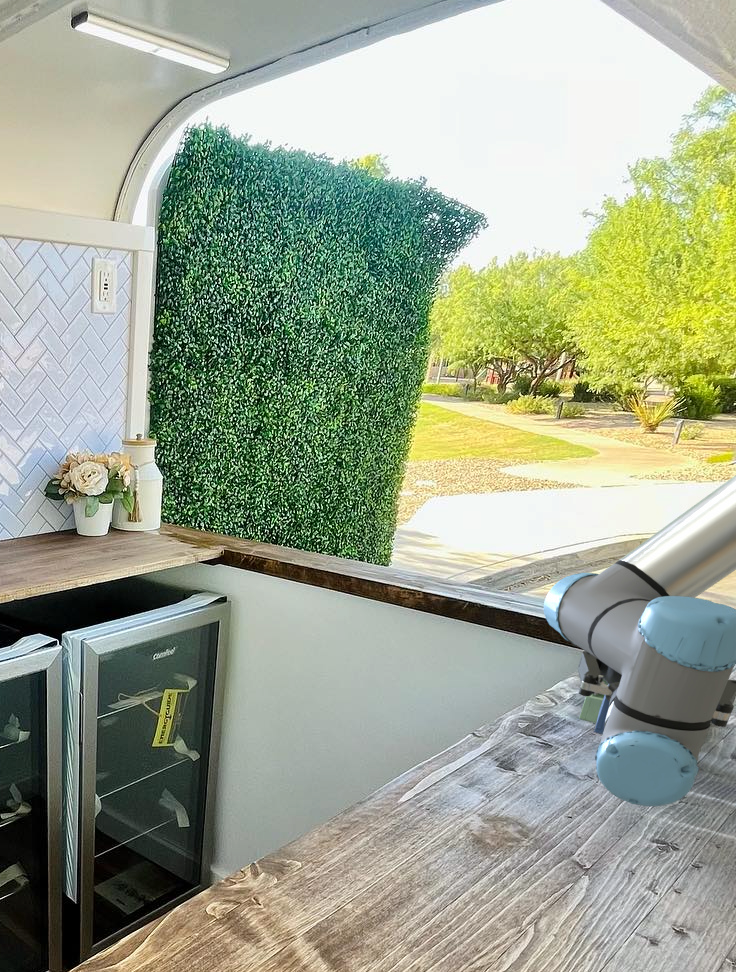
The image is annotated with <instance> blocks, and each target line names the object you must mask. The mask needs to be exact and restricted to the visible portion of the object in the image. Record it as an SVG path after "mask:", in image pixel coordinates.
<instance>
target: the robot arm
mask: <svg viewBox="0 0 736 972" xmlns="http://www.w3.org/2000/svg"><path fill="white" fill-rule="evenodd" d="M735 571H736V474H735V475H734V476H732V477H731V478H730V479H728V480H727V481H726V482H725V483H723V484H721V485H720V486H719V487H718V488H716V489H715V490H713V491H712V492H710V493H709V494H708V495H706V496H705V497H704V498H702V499H701V500H699V501H698V502H696V503H695V504H694V505H692V506H691V507H690V508H689V509H687V510H685V512H683V513H682V514H680V515H679V516H677V517H676V518H675V519H673V520H672V521H671V522H670V523H668V524H667V525H665V526H664V527H662V528H661V529H659V530H658V531H656V532H655V533H654V534H653V535H651V536H649V538H648V539H646V540H644V541H643V542H642V543H640V544H639V545H638V546H637V547H635V548H634V549H632V550H631V551H629V552H628V553H627V554H626V555H624V556H623V557H621V558H620V559H619V560H617V561H616V562H615V563H613V564H611V565H610V566H608V567H607V568H605V569H604V570H603V571H602V572H600V573H593V572H578V573H573V574H571V575H568V576H565V577H562V578H561V579H560V580H559V581H557V582H556V583H555V584H554V585H552V587H551V588H550V589H549V591H548V593H547V594H546V597H545V599H544V603H543V613H544V618H545V620H546V621H547V623H548V625H549V626H550V627H551V628H553V629H554V630H555V631H556V632H558V633H559V634H560V635H561V637H562V638H563V639H564V640H565V641H567V642H569V643H571V644H572V645H574V646H577V647H579V648H580V649H582V650H583V651H582V653H581V656H580V660H579V663H578V666H577V672H578V676H579V679H580V683H581V684H580V687H579V690H578V695H581V696H583V697H586V696H591V695H592V694H594V695H598V693H599V694H603V695H606V699H607V700H608V701H609V707H608V711H607V715H606V720H605V725H604V732H603V734H601V737H600V741H599V744H598V747H597V749H596V752H595V756H594V760H595V762H596V763H595V764H596V766H595V767H596V768H595V769H596V775H597V777H598V779H599V781H600V783H601V784H602V786H603V787H604V788H605V789H606V790H607V791H608V792H609V793H610V794H612V795H613V796H614V797H616V798H618V799H620V800H622V801H623V802H627V803H629V804H631V805H636V806H641V807H661V806H666V805H670V804H673V803H676V802H678V801H680V800H681V799H683V798H685V796H686V795H688V794H689V792H690V791H691V790H692V788H693V786H694V783H695V781H696V776H697V775H698V773H699V766H698V759H699V756H700V753H701V751H702V748H703V745H704V744H705V741H706V738H707V736H708V733H709V731H710V729H711V725H714V726H716V727H720V728H721V727H722V728H726V727H727V725H728V723H729V720H730V717H731V715H732V713H733V711H734V708H735V706H734V703H735V700H736V679H730V677H731V675H732V673H733V670H734V668H735V666H736V608H734V607H732V606H729V605H727V604H724V603H718V602H713V601H712V600H708V599H705V598H704V599H703V598H698V596H700V595H701V594H703V593H704V592H706V591H707V590H708V589H710V588H711V587H713V586H715V585H716V584H718V583H719V582H721V581H722V580H723V579H725V578H726V577H728V576H729V575H731V574H732V573H734V572H735ZM603 680H604V681H606V682H607V683H608V684H609V686H608V685H606V684H605V682H604V681H603Z"/></svg>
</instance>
